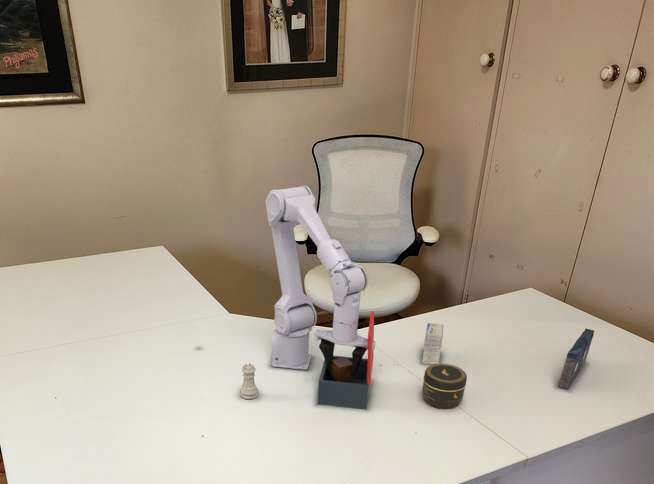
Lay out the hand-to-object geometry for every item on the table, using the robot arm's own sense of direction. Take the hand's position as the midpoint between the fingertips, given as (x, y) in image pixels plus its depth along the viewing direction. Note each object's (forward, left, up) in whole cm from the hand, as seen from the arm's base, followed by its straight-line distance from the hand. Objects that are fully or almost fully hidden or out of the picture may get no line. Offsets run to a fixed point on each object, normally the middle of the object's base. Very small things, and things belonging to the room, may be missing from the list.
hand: (341, 371), depth 149 cm
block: (0, 0, -1) cm, 1 cm away
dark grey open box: (+1, 0, -6) cm, 6 cm away
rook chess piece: (-21, -6, -6) cm, 23 cm away
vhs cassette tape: (+60, +21, -6) cm, 63 cm away
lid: (+6, 0, +7) cm, 9 cm away
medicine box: (+23, +23, -6) cm, 33 cm away
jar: (+25, +1, -6) cm, 25 cm away
